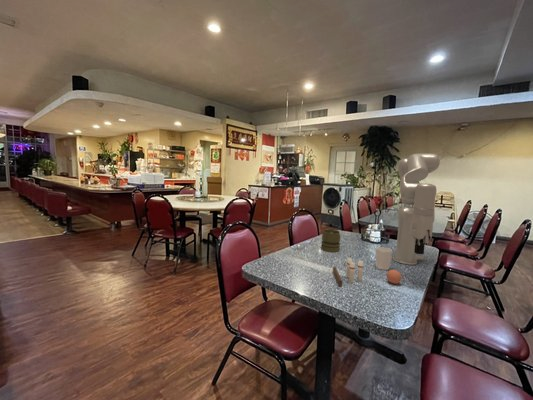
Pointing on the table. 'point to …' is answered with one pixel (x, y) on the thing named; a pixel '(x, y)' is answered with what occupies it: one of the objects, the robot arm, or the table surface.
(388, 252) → the white cup
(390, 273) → the ball
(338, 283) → the walnut rail
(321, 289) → the table surface
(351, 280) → the back pin left
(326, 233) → the piston
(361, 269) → the front pin
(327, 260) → the table surface
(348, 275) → the back pin right
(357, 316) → the table surface
